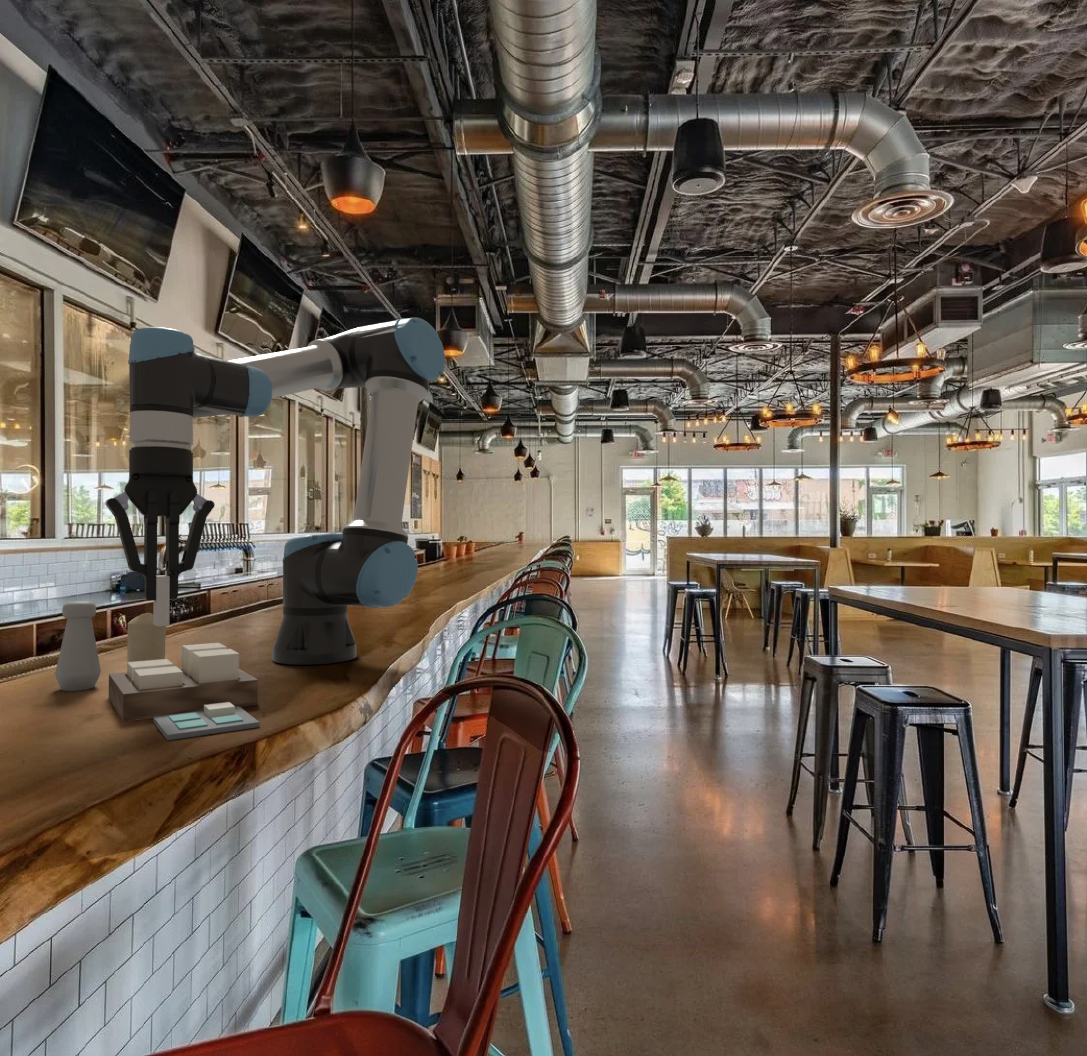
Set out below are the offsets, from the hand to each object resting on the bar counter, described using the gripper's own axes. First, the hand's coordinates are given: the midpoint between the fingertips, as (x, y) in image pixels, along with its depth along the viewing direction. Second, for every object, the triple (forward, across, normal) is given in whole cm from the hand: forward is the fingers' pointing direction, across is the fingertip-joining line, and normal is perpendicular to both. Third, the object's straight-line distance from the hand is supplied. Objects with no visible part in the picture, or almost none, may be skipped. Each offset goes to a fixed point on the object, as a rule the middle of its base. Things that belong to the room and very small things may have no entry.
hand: (161, 624), depth 95 cm
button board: (+11, -3, -3) cm, 12 cm away
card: (+11, -3, +12) cm, 16 cm away
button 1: (+10, 0, -7) cm, 12 cm away
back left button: (+8, -7, -7) cm, 13 cm away
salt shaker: (+11, +8, -21) cm, 25 cm away
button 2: (+10, 0, 0) cm, 10 cm away
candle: (+12, -2, -28) cm, 31 cm away
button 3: (+8, -7, 0) cm, 10 cm away
